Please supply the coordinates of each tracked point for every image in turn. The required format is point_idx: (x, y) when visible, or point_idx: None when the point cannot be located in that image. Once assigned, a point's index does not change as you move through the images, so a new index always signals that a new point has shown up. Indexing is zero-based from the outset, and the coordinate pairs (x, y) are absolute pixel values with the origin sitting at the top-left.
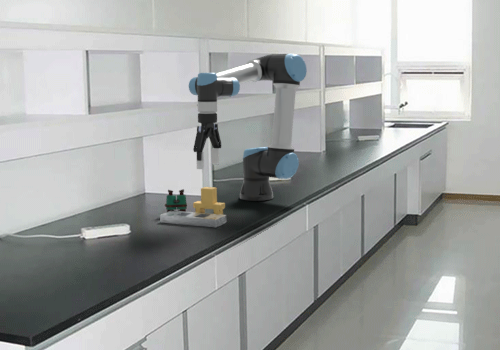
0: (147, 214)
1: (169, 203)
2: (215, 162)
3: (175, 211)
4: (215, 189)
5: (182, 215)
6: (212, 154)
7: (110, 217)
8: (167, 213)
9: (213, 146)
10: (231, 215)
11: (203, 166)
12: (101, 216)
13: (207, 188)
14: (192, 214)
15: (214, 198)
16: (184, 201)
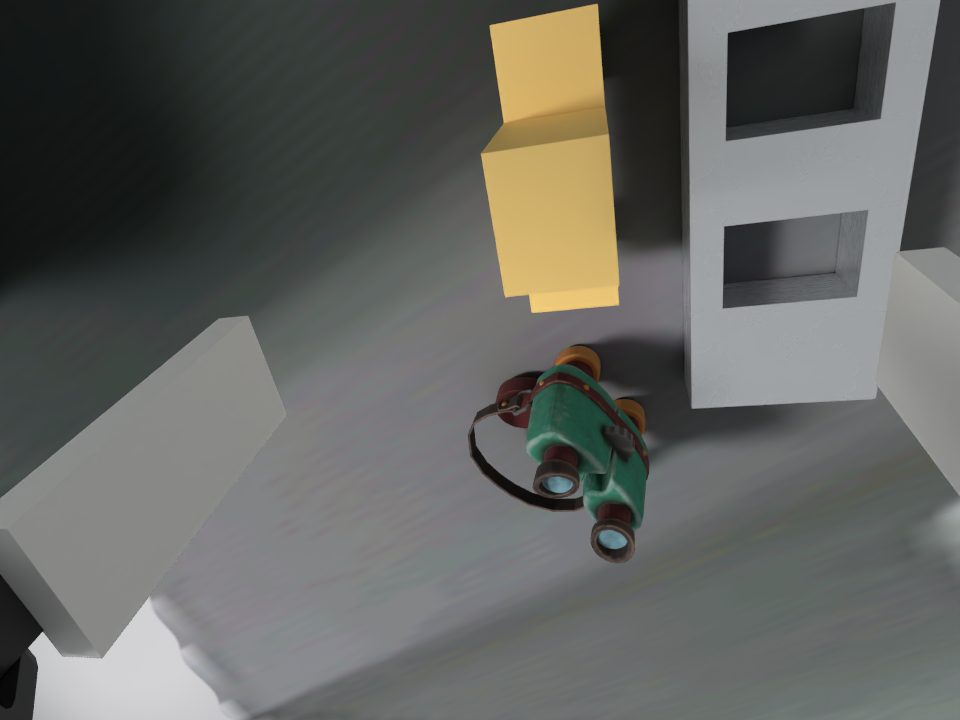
0: (651, 533)
1: (642, 469)
2: (247, 379)
3: (714, 368)
4: (517, 144)
5: (724, 297)
6: (186, 530)
7: (798, 640)
8: (806, 380)
9: (20, 683)
10: (400, 31)
11: (949, 270)
12: (790, 677)
13: (586, 219)
14: (781, 191)
15: (555, 122)
16: (571, 402)
